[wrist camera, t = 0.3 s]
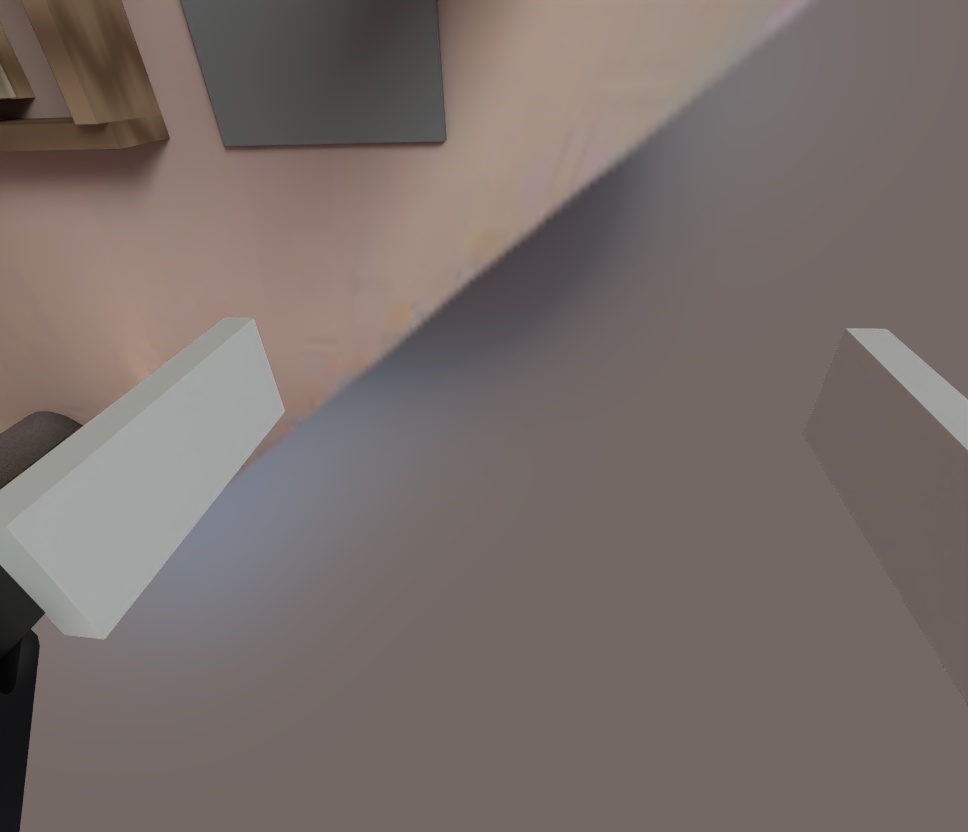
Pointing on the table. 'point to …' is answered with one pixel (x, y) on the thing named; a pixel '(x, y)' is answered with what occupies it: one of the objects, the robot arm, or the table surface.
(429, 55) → the charcoal mat
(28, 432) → the pillar candle
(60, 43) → the frame
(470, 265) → the table surface
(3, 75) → the birch offcut
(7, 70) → the oak offcut
